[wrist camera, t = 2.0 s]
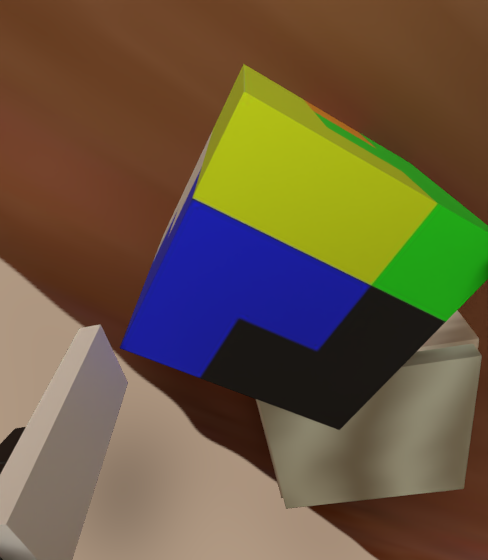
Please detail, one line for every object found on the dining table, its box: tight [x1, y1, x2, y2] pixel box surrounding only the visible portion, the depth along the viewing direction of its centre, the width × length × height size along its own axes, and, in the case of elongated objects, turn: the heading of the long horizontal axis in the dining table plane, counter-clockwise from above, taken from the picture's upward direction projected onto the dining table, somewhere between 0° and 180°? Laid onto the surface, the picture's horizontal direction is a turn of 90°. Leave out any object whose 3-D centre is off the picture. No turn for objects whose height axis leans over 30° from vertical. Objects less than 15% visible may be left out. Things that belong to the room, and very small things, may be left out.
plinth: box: [256, 310, 482, 509], centre depth 28 cm, size 13×13×5 cm
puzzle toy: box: [120, 64, 488, 430], centre depth 19 cm, size 10×10×10 cm
